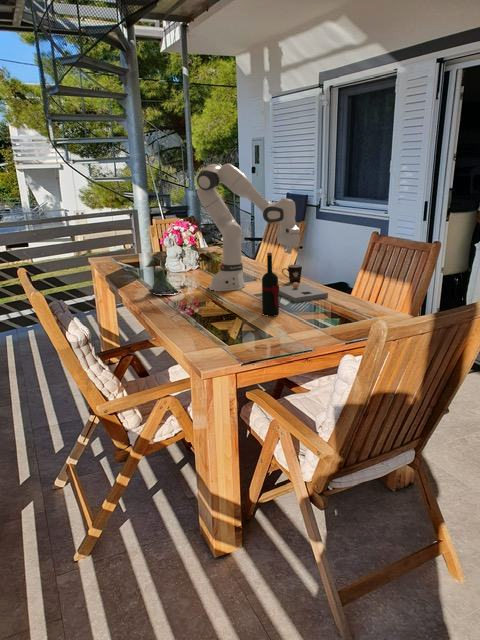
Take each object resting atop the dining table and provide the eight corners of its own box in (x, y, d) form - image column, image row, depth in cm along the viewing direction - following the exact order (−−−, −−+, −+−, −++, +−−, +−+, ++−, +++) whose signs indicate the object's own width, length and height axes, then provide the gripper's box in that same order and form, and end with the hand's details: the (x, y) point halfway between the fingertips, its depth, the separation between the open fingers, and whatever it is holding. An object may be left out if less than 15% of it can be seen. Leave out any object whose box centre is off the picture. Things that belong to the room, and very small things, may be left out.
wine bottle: (271, 318, 226) (269, 255, 217) (259, 313, 234) (257, 252, 225) (284, 315, 230) (284, 253, 220) (272, 310, 238) (271, 250, 229)
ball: (294, 289, 267) (294, 283, 266) (291, 288, 270) (291, 282, 269) (300, 288, 268) (300, 282, 267) (296, 287, 271) (296, 281, 270)
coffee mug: (303, 280, 296) (303, 264, 293) (299, 284, 289) (299, 267, 286) (286, 279, 301) (285, 264, 298) (281, 282, 294) (281, 266, 291)
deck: (295, 302, 251) (295, 297, 250) (273, 292, 273) (273, 287, 272) (327, 297, 258) (328, 292, 257) (304, 287, 280) (304, 283, 279)
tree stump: (190, 292, 282) (183, 264, 273) (163, 307, 271) (155, 279, 262) (171, 286, 294) (163, 259, 285) (145, 300, 283) (136, 273, 274)
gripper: (274, 227, 275) (274, 251, 280) (291, 230, 257) (291, 256, 261) (284, 226, 278) (284, 249, 282) (301, 229, 259) (301, 255, 264)
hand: (287, 253), depth 272 cm, fingers closed
